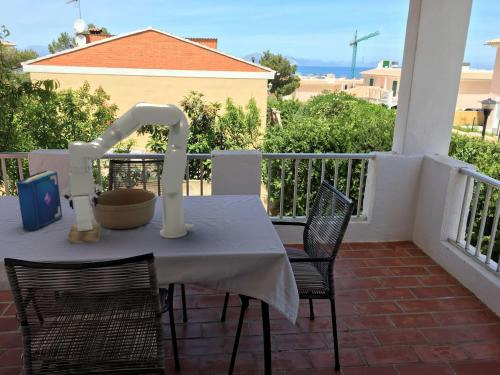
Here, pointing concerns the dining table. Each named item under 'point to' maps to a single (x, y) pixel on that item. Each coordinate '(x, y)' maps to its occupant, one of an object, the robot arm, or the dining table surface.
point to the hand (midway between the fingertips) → (84, 207)
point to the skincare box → (83, 212)
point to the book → (39, 200)
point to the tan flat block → (84, 234)
